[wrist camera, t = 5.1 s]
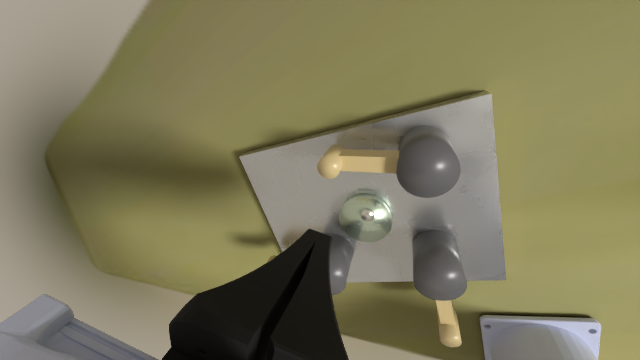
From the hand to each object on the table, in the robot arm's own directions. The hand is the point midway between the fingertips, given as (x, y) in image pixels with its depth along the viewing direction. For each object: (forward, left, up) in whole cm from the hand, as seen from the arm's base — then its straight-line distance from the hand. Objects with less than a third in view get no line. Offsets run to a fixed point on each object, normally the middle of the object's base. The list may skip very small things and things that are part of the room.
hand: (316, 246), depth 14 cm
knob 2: (+2, -4, -7) cm, 8 cm away
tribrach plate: (-3, -1, -8) cm, 9 cm away
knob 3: (-9, -5, -7) cm, 12 cm away
